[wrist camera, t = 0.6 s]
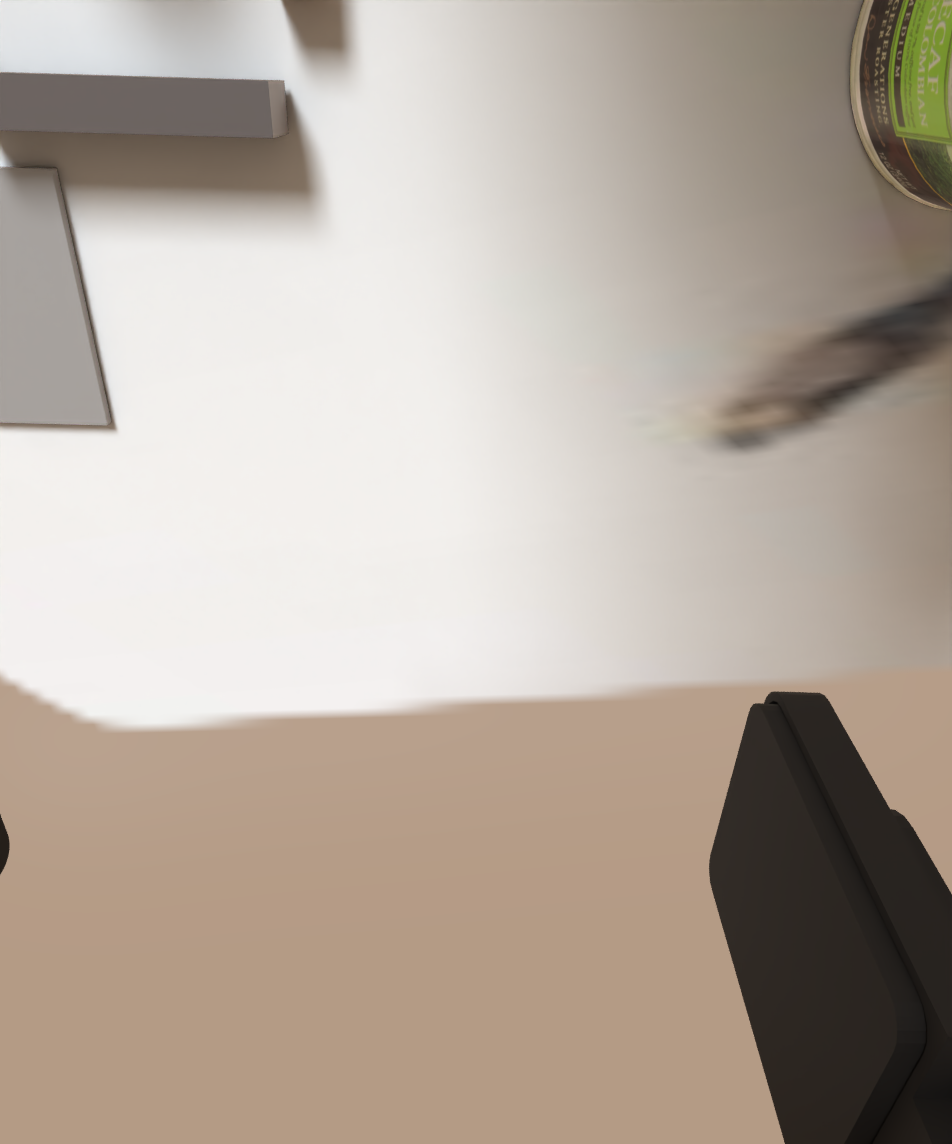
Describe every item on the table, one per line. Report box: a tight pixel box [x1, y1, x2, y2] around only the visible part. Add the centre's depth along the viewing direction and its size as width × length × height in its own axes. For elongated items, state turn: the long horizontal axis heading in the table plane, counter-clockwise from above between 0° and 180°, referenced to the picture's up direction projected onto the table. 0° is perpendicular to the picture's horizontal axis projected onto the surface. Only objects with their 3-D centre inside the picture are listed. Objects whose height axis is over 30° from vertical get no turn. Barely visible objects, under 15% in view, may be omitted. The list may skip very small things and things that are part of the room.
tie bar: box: [0, 72, 289, 138], centre depth 25 cm, size 2×10×2 cm, turn 88°
